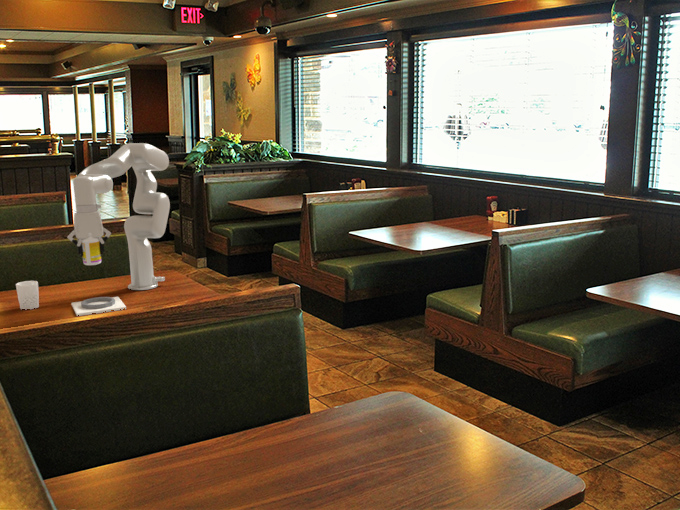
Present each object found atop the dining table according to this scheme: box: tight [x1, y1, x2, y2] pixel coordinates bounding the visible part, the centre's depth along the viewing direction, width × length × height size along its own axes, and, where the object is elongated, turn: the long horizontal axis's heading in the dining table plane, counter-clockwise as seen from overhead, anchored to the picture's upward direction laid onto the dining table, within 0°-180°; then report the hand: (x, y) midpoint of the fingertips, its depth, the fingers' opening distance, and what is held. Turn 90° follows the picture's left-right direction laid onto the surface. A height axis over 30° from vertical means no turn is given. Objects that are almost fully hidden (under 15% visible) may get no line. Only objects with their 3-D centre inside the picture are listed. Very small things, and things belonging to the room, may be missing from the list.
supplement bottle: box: [81, 233, 102, 266], centre depth 256 cm, size 7×7×13 cm
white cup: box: [15, 280, 40, 311], centre depth 261 cm, size 8×8×10 cm
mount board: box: [71, 296, 127, 317], centre depth 261 cm, size 18×18×2 cm
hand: (91, 254), depth 257 cm, fingers closed on supplement bottle, 6 cm apart
